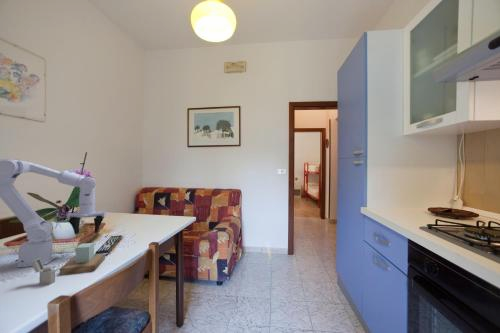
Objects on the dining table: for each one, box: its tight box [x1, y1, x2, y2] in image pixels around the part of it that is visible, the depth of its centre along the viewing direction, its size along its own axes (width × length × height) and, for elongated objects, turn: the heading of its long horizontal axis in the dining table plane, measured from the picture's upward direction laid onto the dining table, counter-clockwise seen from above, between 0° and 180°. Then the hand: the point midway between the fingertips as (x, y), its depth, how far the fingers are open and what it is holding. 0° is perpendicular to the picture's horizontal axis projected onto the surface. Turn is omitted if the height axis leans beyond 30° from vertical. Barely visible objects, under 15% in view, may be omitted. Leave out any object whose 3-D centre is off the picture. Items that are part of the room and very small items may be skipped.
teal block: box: [74, 242, 95, 263], centre depth 84 cm, size 4×4×6 cm
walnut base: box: [59, 253, 106, 276], centre depth 84 cm, size 11×11×3 cm
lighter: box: [31, 258, 56, 285], centre depth 72 cm, size 7×2×8 cm, turn 87°
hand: (86, 233), depth 95 cm, fingers open, 7 cm apart
